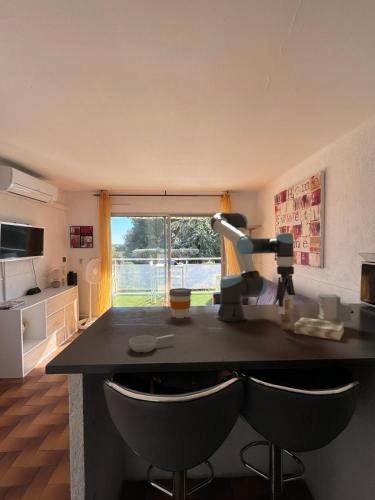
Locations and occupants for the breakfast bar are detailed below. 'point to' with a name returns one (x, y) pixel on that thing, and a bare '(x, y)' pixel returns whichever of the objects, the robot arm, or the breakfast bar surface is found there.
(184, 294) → the reusable coffee cup
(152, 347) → the saucepan
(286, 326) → the peg
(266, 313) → the breakfast bar surface
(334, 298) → the circuit breaker
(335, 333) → the board
